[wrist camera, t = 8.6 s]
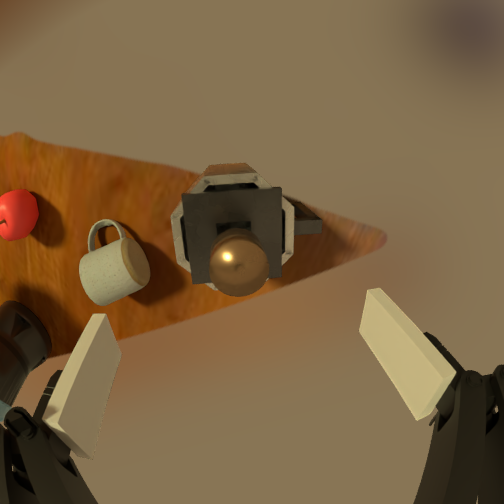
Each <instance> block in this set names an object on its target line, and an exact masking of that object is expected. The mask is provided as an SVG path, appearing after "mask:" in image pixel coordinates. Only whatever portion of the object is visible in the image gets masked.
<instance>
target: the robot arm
mask: <svg viewBox="0 0 504 504" xmlns="http://www.w3.org/2000/svg"><path fill="white" fill-rule="evenodd" d="M359 333H360V334H361V335H362V337H363V338H364V340H365V341H366V343H367V344H368V346H369V347H370V349H371V350H372V352H373V353H374V355H375V356H376V358H377V359H378V361H379V362H380V364H381V365H382V367H383V368H384V370H385V371H386V373H387V374H388V376H389V377H390V379H391V381H392V382H393V384H394V385H395V387H396V388H397V390H398V392H399V393H400V395H401V396H402V398H403V400H404V401H405V403H406V404H407V406H408V408H409V409H410V411H411V412H412V414H413V416H414V417H415V419H416V421H417V420H420V419H421V418H424V417H426V416H428V415H429V414H430V413H431V412H432V411H433V409H434V408H435V406H436V408H437V409H438V412H437V414H436V415H435V416H434V417H433V419H432V420H431V422H430V424H429V426H431V425H432V423H433V422H434V421H435V424H434V430H433V435H432V440H431V444H430V449H429V453H428V457H427V462H426V465H425V469H424V473H423V476H422V480H421V483H420V486H419V489H418V492H417V495H416V498H415V501H414V504H476V501H477V496H478V504H504V365H499V366H497V367H496V369H495V370H494V372H493V374H489V375H484V376H482V375H480V374H479V373H478V372H476V371H472V370H468V371H465V370H464V369H463V368H462V366H461V365H460V364H459V363H458V362H457V361H456V359H455V358H454V357H453V356H452V355H451V354H450V353H449V352H448V351H447V349H446V348H445V347H444V346H442V344H441V343H440V342H439V341H438V339H437V338H436V337H434V336H433V335H431V334H429V333H428V332H425V333H422V332H421V331H420V330H419V329H418V328H417V326H416V325H415V324H414V323H413V322H412V321H411V320H410V319H409V318H408V317H407V316H406V315H405V314H404V312H402V310H400V308H399V307H398V306H397V305H396V304H395V303H394V302H393V301H392V300H391V299H390V298H389V297H388V296H387V295H386V294H385V293H384V292H383V291H382V290H381V289H380V288H376V289H370V290H367V295H366V301H365V306H364V311H363V316H362V320H361V325H360V329H359ZM50 353H51V341H50V338H49V335H48V333H47V331H46V329H45V328H44V326H43V325H42V323H41V322H40V321H39V319H38V318H37V317H36V316H35V315H34V314H33V313H32V312H31V311H30V310H29V309H28V308H26V307H25V306H23V305H22V304H20V303H18V302H15V301H6V302H4V303H3V304H2V305H1V306H0V422H2V421H3V420H4V425H5V426H6V427H7V429H5V428H4V427H3V426H2V425H1V424H0V504H98V503H97V501H96V500H95V498H94V496H93V495H92V493H91V492H90V490H89V488H88V487H87V485H86V483H85V481H84V480H83V478H82V476H81V475H80V473H79V471H78V469H77V467H76V465H75V463H74V461H73V459H72V458H71V457H70V456H69V455H70V451H71V450H72V451H73V452H74V453H75V454H76V455H77V456H79V457H83V458H87V459H92V460H93V457H94V453H95V448H96V444H97V439H98V435H99V431H100V427H101V423H102V419H103V416H104V412H105V408H106V405H107V401H108V398H109V394H110V391H111V388H112V384H113V381H114V378H115V374H116V371H117V368H118V365H119V362H120V359H121V356H122V354H121V352H120V349H119V347H118V344H117V342H116V339H115V337H114V334H113V331H112V329H111V326H110V323H109V321H108V318H107V315H106V314H93V315H92V317H91V319H90V320H89V322H88V324H87V326H86V328H85V329H84V331H83V333H82V335H81V337H80V338H79V340H78V342H77V344H76V346H75V348H74V350H73V352H72V354H71V356H70V358H69V360H68V362H67V364H66V366H65V368H64V370H57V371H56V372H55V373H54V374H53V375H52V376H51V378H50V380H49V382H48V384H47V388H45V390H44V392H43V395H42V397H41V399H40V401H39V403H38V406H37V408H36V410H35V413H34V415H33V417H31V415H30V414H29V413H28V412H27V411H26V410H25V409H24V408H23V407H13V408H11V407H12V405H13V403H14V401H15V399H16V397H17V395H18V393H19V391H20V389H21V387H22V385H23V383H24V381H25V379H26V377H27V376H28V374H29V373H30V372H31V371H33V370H34V369H35V368H37V367H38V366H39V365H41V364H42V363H43V362H45V361H46V359H47V358H48V356H49V354H50ZM496 406H498V410H499V411H498V412H497V413H496V412H495V408H496ZM12 466H13V471H12Z"/></svg>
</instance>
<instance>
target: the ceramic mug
mask: <svg viewBox="0 0 504 504" xmlns="http://www.w3.org/2000/svg"><path fill="white" fill-rule="evenodd" d="M111 224H113V225H114V226H115V227H116V228H117V230H118V232H119V235H120V239H119V240H117V241H114V242H112V243H110V244H109V245H106V246H104V247H101V248H99V249H97V250H95V243H94V241H95V235H96V232H97V230H99V228H102V227H104V226H107V225H108V226H110V225H111ZM88 249H89V253H88V254H86V255H85V256H83V258H82V259H81V261H80V266H79V273H80V279H81V282H82V285H83V287H84V290H85V291H86V293H87V295H88V296H89V297H90V299H91V300H92V301H93V302H95V303H96V304H98V305H101V306H105V305H108V304H110V303H112V302H114V301H116V300H119V299H121V298H123V297H125V296H127V295H129V294H131V293H133V292H136V291H138V290H140V289H141V288H143V287H144V286H146V285H147V284H148V282H149V279H150V267H149V263H148V260H147V258H146V255H145V253H144V252H143V250H142V248H141V247H140V245H139V244H138V243H137V242H136V241H134V240H133V239H131V238H126V235H125V231H124V230H123V228H122V226H121V225H120V224H119V223H118V222H116V221H114V220H109V219H104V220H101V221H98V222H97V223H96V224H94V225H93V227H92V228H91V230H90V233H89V237H88Z"/></svg>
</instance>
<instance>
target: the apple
mask: <svg viewBox="0 0 504 504" xmlns="http://www.w3.org/2000/svg"><path fill="white" fill-rule="evenodd" d="M38 216H39V211H38V207H37V202H36V198H35V197H34V196H33V195H32V194H31V193H30V192H28V191H27V190H26V189H18V190H13V191H11V192H8V193H5V194H3V195H2V196H1V197H0V235H1V236H2V237H3V238H4V239H5V240H7V241H13V240H17V239H21V238H24V237H27V236H28V234H29V233H30V232H31V231H32V230H33V229H34V227H35V224H36V222H37V219H38Z"/></svg>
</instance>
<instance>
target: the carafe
mask: <svg viewBox="0 0 504 504" xmlns="http://www.w3.org/2000/svg"><path fill="white" fill-rule="evenodd" d="M233 183H248V184H249V185H250V186H251V187H252V188H244V189H229V190H215V191H206V190H207V188H208V187H209V186H211V185H218V184H233ZM294 215H295V216H296V217H297V218H294ZM240 221H250V229H251V231H250V232H252V233H253V234H255V235H256V236H257V237H258V239H259V240H260V242H261V244H262V247H263V249H264V252H265V255H266V257H267V260H268V263H269V275H268V278H267V280H268V279H269V278H276V277H282V265H283V264H284V263H285V262H286V261H287V260H288V259H289V258H290V257H291V256H292V255H293V251H294V235H303V234H319V233H322V219H321V218H320V217H318V216H317V215H316V214H315V213H313V212H312V211H311V210H310V209H309V208H307V207H306V206H305V205H304V204H302V203H301V202H288V201H287V200H286V199H285V198H284V197H283V196H282V188H281V187H272V186H271V185H270V184H269V183H268V182H267V181H266V180H265V179H263V178H262V177H261V176H260V175H259V174H258V173H257V172H256V171H255V170H253V169H252V168H251V167H250V166H249V165H248V164H246V163H234V164H217V165H209V166H208V167H207V168H206V170H205V171H204V172H203V173H202V174H201V175H200V176H199V178H198V179H197V180H196V181H195V182H194V183H193V185H192V186H191V187H190V188H189V189H188V191H187V192H186V193H183V194H182V199H181V201H180V202H179V204H178V205H177V207H176V208H175V210H174V211H173V213H172V214H171V223H172V231H173V238H174V245H175V252H176V258H177V263H178V264H179V265H181V266H182V267H183V268H185V269H186V270H187V271H189V272H190V273H191V276H192V283H193V284H202V283H205V284H206V285H208V286H209V287H211V288H212V289H213V290H218V289H217V288H216V287H215V286H214V284H213V283H212V281H211V278H210V274H209V265H210V251H211V246H212V243H213V242H214V240H215V239H216V237H217V226H216V223H227V222H240ZM267 280H266V281H267Z"/></svg>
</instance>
